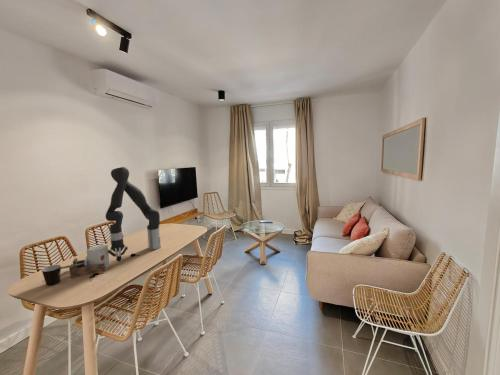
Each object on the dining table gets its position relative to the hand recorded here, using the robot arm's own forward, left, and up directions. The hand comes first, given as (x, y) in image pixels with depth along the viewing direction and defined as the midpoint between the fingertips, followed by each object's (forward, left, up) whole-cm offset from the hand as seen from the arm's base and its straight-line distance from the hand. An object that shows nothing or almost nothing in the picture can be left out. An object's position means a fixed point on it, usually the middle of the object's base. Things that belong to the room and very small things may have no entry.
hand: (119, 260), depth 160 cm
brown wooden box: (+17, 0, -2) cm, 17 cm away
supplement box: (+12, 0, -2) cm, 12 cm away
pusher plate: (+27, 0, -1) cm, 27 cm away
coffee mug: (+35, +11, -2) cm, 37 cm away
